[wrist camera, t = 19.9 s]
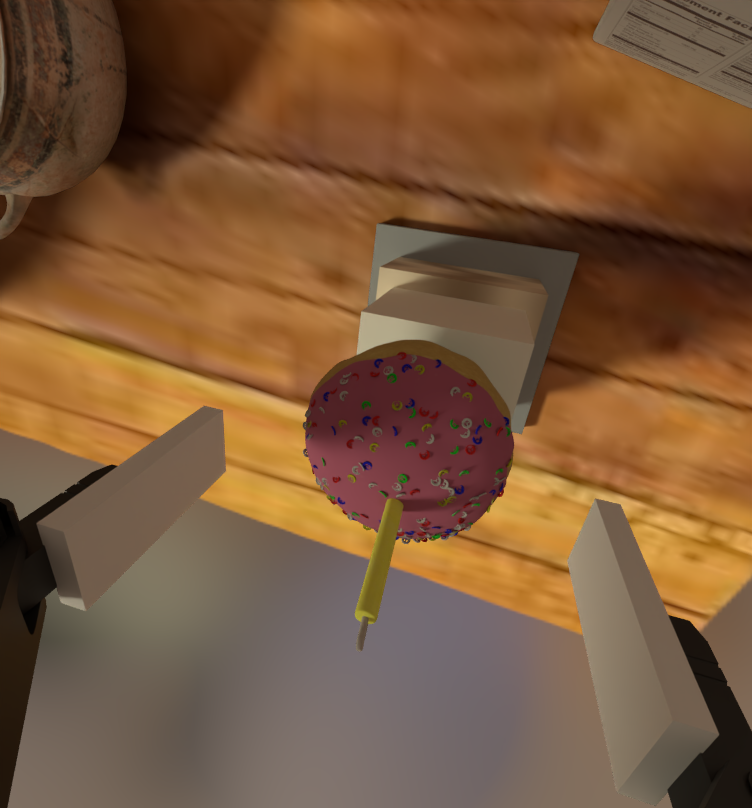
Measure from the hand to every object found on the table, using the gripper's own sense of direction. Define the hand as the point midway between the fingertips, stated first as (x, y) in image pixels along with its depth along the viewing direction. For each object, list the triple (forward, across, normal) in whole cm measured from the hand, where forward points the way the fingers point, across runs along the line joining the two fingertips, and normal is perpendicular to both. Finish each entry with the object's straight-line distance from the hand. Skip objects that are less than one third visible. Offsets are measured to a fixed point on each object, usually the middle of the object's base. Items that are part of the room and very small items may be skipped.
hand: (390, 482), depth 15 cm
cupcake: (+7, 0, 0) cm, 7 cm away
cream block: (+14, +1, 0) cm, 14 cm away
